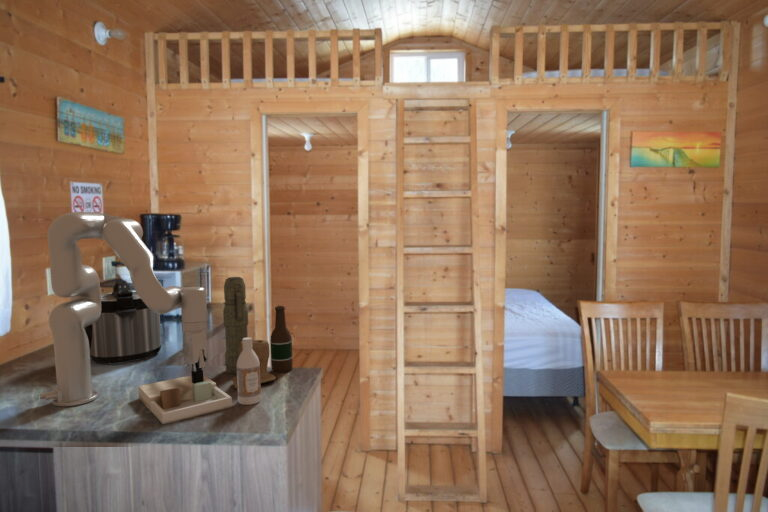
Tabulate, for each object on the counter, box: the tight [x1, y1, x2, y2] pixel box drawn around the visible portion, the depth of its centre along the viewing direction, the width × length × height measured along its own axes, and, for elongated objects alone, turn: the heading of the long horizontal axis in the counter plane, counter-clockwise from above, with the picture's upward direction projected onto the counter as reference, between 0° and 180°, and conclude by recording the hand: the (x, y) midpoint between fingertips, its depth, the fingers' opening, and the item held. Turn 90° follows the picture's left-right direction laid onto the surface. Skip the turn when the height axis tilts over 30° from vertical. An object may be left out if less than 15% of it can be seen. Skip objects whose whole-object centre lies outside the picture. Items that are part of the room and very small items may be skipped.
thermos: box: [222, 276, 249, 375], centre depth 191 cm, size 9×12×35 cm
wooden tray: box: [137, 374, 217, 412], centre depth 165 cm, size 20×14×4 cm
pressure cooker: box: [84, 280, 162, 365], centre depth 213 cm, size 30×28×32 cm
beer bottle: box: [270, 305, 293, 374], centre depth 191 cm, size 8×8×24 cm
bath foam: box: [236, 336, 262, 406], centre depth 159 cm, size 7×7×20 cm
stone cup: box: [232, 339, 277, 389], centre depth 177 cm, size 15×12×15 cm
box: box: [150, 386, 233, 425], centre depth 154 cm, size 20×13×3 cm, turn 128°
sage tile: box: [192, 381, 212, 402], centre depth 162 cm, size 5×5×2 cm
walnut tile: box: [160, 388, 181, 410], centre depth 155 cm, size 5×5×2 cm
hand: (197, 382), depth 164 cm, fingers closed
